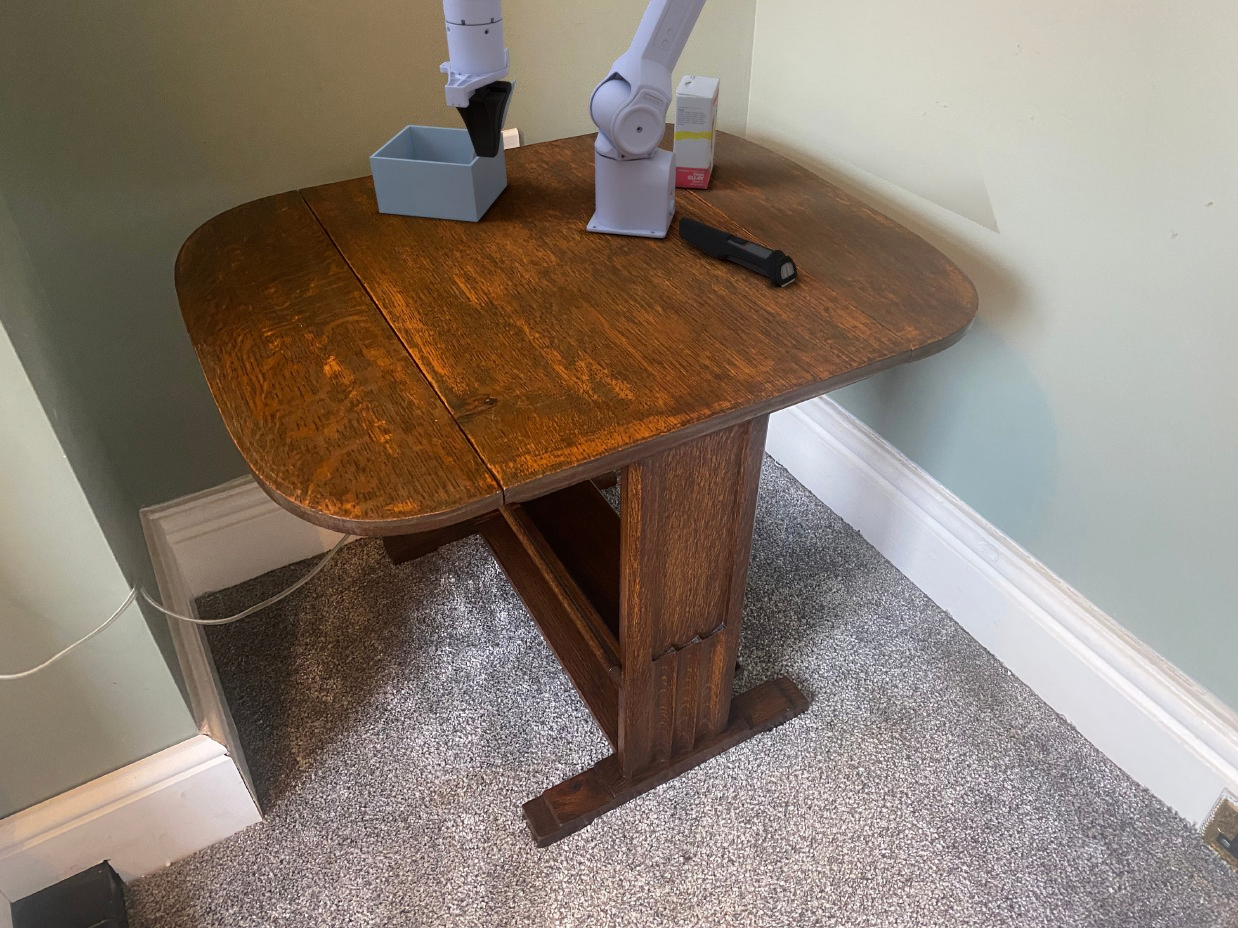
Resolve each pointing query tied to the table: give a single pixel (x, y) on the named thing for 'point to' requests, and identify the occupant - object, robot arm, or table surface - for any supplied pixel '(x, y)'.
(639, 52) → the robot arm
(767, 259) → the electric trimmer
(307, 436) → the table surface
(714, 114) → the ink box
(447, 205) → the grey box
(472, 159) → the panel
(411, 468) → the table surface
